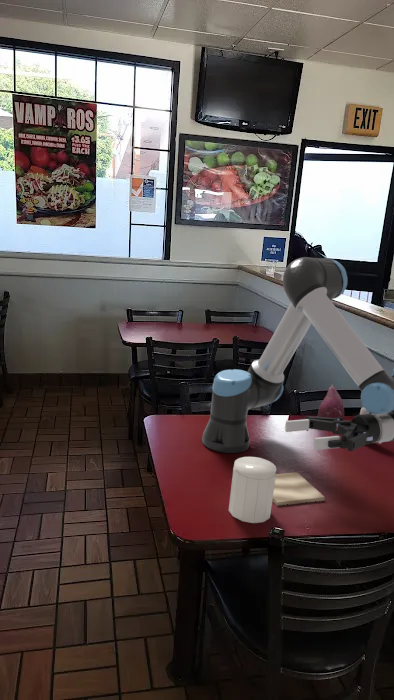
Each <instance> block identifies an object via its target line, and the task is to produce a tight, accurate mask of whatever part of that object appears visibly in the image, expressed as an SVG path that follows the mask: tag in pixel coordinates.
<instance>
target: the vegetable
mask: <svg viewBox="0 0 394 700" xmlns="http://www.w3.org/2000/svg"><path fill="white" fill-rule="evenodd" d="M316 417H327V418H343V421H345V407H344V402H343V399H342V397H341V396H340V394H339V392H338V391H337V390H336V388H335V386H334V385H333V384H331V386H330V387H329V388H328V391H327V393H326V396H325V397H324V398H323V400H322V401H321V403H320V405H319V407H318V412H317V416H316Z"/></svg>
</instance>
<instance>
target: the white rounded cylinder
mask: <svg viewBox="0 0 394 700" xmlns="http://www.w3.org/2000/svg"><path fill="white" fill-rule="evenodd" d="M233 462H234V464H233V468H232V479H231V486H230V495H229V502H228V503H229V505H228V512H229V513H230V514H231V516H232V517H234V518H235V519H238V520H239V521H241V522H245V523H251V524H258V523H264V522H265V523H266V521H267V520H269V519H271V515H272V514H271V513H272V512H271V511H272V506H273V501H272V499H273V492H274V485H275V477H276V474H277V466H276V465H275V464H274V463H273V462H272V461H269V460H267V459H264V458H262V457H257V456H243V457H242V456H241V457H238V458H237V459H235V460H234V461H233Z"/></svg>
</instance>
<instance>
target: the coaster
mask: <svg viewBox="0 0 394 700" xmlns="http://www.w3.org/2000/svg"><path fill="white" fill-rule="evenodd" d="M325 497H326V496H324V494H322V493H321V492H320V491H318V489H317V488H315V487H314V486H313V485H312V484H311V483H310V482H308V481H307V480H306V479H305V477H303V476H302V475H301V474H300V473H298V472H295V471H294V472H286V473H276V477H275V485H274V492H273V499H272V503H273V504H274V505H275V506H276V507H279V506H288V505H297V504H298V505H299V504H305V503H306V502H307V503H314V502H315V501H316V502H322V501H324V502H325V499H326V498H325ZM287 504H288V505H287Z"/></svg>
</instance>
